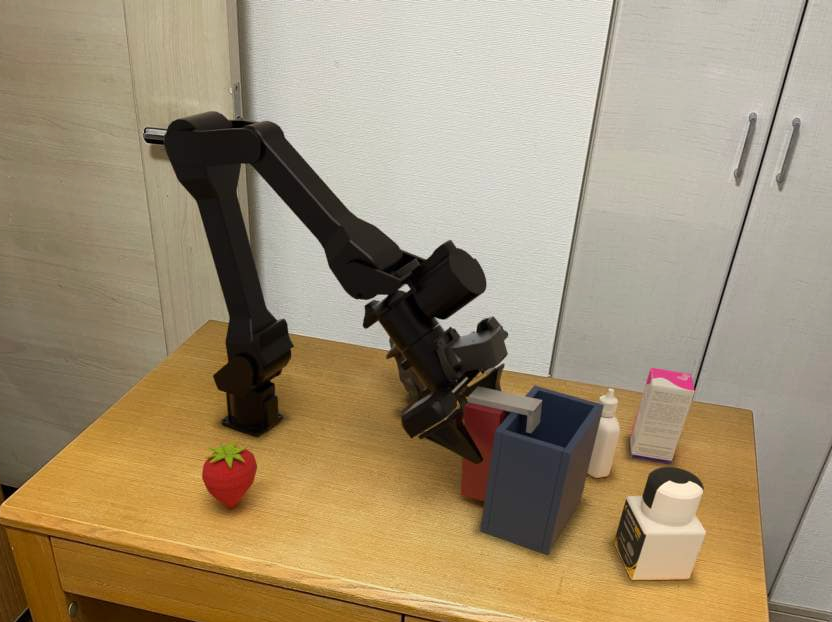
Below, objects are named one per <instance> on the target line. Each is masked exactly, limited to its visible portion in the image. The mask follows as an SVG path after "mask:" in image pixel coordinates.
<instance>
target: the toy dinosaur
mask: <svg viewBox="0 0 832 622" xmlns="http://www.w3.org/2000/svg"><path fill="white" fill-rule="evenodd" d="M388 343H389V347H390V350H389V351H387V354H386V355H385V358H384V359H385V360H390V359H393V358H394V360H395V361H396V365H397V371H398V378H399V381H400V382H401V383H402V385H403V387H404V389H405V391H406V392H407V393H408V400H407V405H406V406H405V407H404V408H400V409H399V412H400V415H401V416H402V415H403V414H404V413H405V412H406V411H407V410H408V409H410V408H411V407H412V406H413V405H414V404H415V403H417V402H418V401H420V400H421V399H423V398H424V397H423V396H422V395H421V392H422V391H423V390H424V389H425V386H424V385H423V383H422V382H421V381H420V379H419V378H418V376H417V375H416V374H415V372H414V371H413V369H412V368H409V369H408V370H406V371H404V369H403V368H402V366H401V365H400V364H401V363H402V362H404V361H405V360H406V359H405V358H404V357H403V355H402V354H401V352H400V351H399V349H398V348H397V347H396V345H395V344H394V342H393V341H392V340H391V338H390V337H389V339H388ZM403 351H404V350H403ZM467 387H468V386H466V387H465V388H464V389H462V390H461V391H460V392H459V393H458V394H457V395H456V398H457V403H458V404H459V408H460V407H461V406H463V418H464V412H465V405H466V404H467V403H468V398H467V397H466V396H465V395H464V394H463V393H462V392H463V391H464V390H465V389H466V388H467Z"/></svg>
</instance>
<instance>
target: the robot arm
mask: <svg viewBox="0 0 832 622" xmlns="http://www.w3.org/2000/svg"><path fill="white" fill-rule="evenodd" d="M163 145H164V149H165V153H166V155H167V158H168V160H169V163H170V165H171V167H172V170H173V172H174V174H175V177H176V179H177V181H178V182H179V183H180V185H181V186H182V187H184V189H185V190H186V191H187V193H188V194H189V195H190V196H191V197H192V199H194V200H195V202H196V205H197V208H198V211H199V214H200V218H201V221H202V225H203V229H204V232H205V236H206V240H207V243H208V246H209V249H210V254H211V257H212V260H213V264H214V268H215V271H216V275H217V278H218V281H219V285H220V289H221V292H222V296H223V300H224V302H225V307H226V309H227V314H228V325H227V330H226V336H225V341H224V343H225V351H226V356H227V363H225V364H224V365H223V366H222V367H221V368H220V369H219V370H217V371H216V372H215V373H213V375H212V378H213V381H214V383H215V386H216V389H217V390H218V391H220V392H223V393H225V397H226V398H225V399H226V409H227V416H224V418H221V420H220V421H221V422H220V424H221V425H222V426H225V427H228V428H231V429H234V430H237V431H240V432H243V433H245V434H249V435H251V436H254V437H259V436H261V435H263V434H264V433H265V432H267V430H269V429H271V428H272V427H273V426H274V425H276V424H277V423H279V422H280V421H281V420H283V418H284V414H283V413H282V412H281V413H280V412H279V398H278V397H279V396H278V394H276V383H275V382H272V380H274V379H276V378H277V377H279V376H280V375H282V371H283V369H284V368H286V367H287V366H288V365H289V363H290V361H291V359H292V349H293V348H294V347H295V344H294V343H293V341H292V339H291V336H290V334H289V333H290V332H289V324H288V322H287V320H286V319H285V318H280V319H279V318H278V319H277V318H276V317H275V315H274V314H272V312H270V310H269V309H268V308H267V305H266V300H265V297H264V293H263V289H262V286H261V282H260V277H259V274H258V271H257V267H256V263H255V259H254V255H253V251H252V246H251V243H250V239H249V236H248V232H247V228H246V224H245V220H244V216H243V212H242V209H241V204H240V201H239V197H238V186H239V181H240V174H241V168H242V165H243V164H245V165H250V166H252V168H253V169H254V170H255V171H256V172H257V173H258V175H259V176H260V177H261V178H262V179H263V180H264V181H265V182H266V183H267V185H268V186H269V187H270V188H271V189H272V191H274V192H275V193H276V195H277V196H278V197H279V198H280V199H281V201H282V202H284V204H285V205H286V206H287V207H288V208H289V209H290V211H291V212H292V213H293V214H294V215H295V216H296V217H297V218H298V220H300V222H301V223H302V224H303V225H304V226H305V228H307V230H308V231H309V232H310V233H311V234H312V235H313V236H314V238H315V239H316V240H317V241H318V242H319V244H320V246H321V247H322V249H323V251H324V254H325V258H326V262H327V265H328V268H329V269H330V271H331V273H332V274H333V276H334V277H335V279H336V280H337V281H338V283H339V285H340V286H341V288H342V289H343V290H344V291H345V293H346V294H347V295H348V296H350V297H351V298H353V299H354V300H357V301H358V300H361V301H368V300H370V301H369V302H367V303H366V304H365V305H364V316H363V321H362V328H363V329H365V330H367V329H369V328H370V327H372V326H373V325H375V324H376V323H377V322H378V323H379V324H380V325H381V327H382V328H383V330H384V332H385V333H386V334H387V335H388V337H389V338H391V340H392V341H393V342H394V344H395V345H396V347H397V348H398V349H399V351H400V352H401V354H402V355H403V357H404V358H405V359H406V360H405V361H404V362H402V363H401V364H400V365H401V366H402V368H403V369H404V371H406V370H408V369H409V368H412V369H413V371H414V372H415V374H416V375H417V376H418V378H419V379H420V381H421V382H422V383H423V385H424V386H425V389H424V390H423V391H422V392H421V395H422V396H423V399H421V400H420V401H418V402H417V403H415V404H414V405H413V406H412V407H411V408H410V409H408V410H407V411H406V412H405V413H404V414H403V415H401V419H400V427H401V428H402V429H403V431H404V432H405V433H406V435H407V436H408V437H409V439H413V438H415V437H417V438H418V439H419V440H421V441H422V440H423V439H425V440H428V441H430V442H432V443H434V444H436V445H439V446H441V447H442V448H445V449H446V450H449V451H451V452H452V453H454V454H456V455H458V456H459V457H461V458H462V459H463V458H465V459H467V460H469V461H470V462H472V463H474V464H479V463H481V462H482V461H483V457H482V455H481V453H480V451H479V449H478V447H477V446H476V444H475V442H474V441H473V439H472V437H471V436H470V434H469V432H468V431H467V429H466V427H465V426H464V417H463V406H461V407H460V406H459V407H458V401H457V398H456V395H457V394H458V393H459V392H460V391H461V390H462V389H464V388H465V387H466V386H468V387H467V388H466V389H465V390H464V391H463V392H462V393H463V394H464V395H465V396H466V398H467V399H468V396H469V395H470V394H471V393H472V392H473V391H474V390H475V389H476V388H477V387H483V388H488V389H493V390H497V391H502V387H501V378H502V373H503V370H504V369H505V366H506V365H505V363H504V362H503V361H504V360H505V359H506V358H507V356H508V355H509V352H508V350H507V346H506V343H505V342H506V341H505V340H507V339H508V338H509V332H508V331H506V330H505V329H504V326H503V325H502V324H501V323H500V322H499V321H498V320H497V319H496V317H495V316H488V317H483V318H482V319H481V320H480V321H478V322H477V324H476V330H475V331H474V330H473V331H471V332H469V334H465V335H460V334H459V332H458V331H457V330H456V328H453V327H452V326H449V327H448V328H447V329H446V330H445V328H444V327H443V325H442V324H441V323H440V321H439V320H444V321H445V320H448V319H449V318H450V317H452V316H453V315H455V314H456V313H458V312H459V311H460V310H461V309H463V308H465V306H468V305H469V304H470V303H472V302H473V301H475V300H476V299H477V298H478V297H480V296H481V295H483V294H484V293H485V291H486V290H487V278H486V274H485V271H484V269H483V267H482V265H481V263H480V262H479V260H478V259H477V258H474V257H473V256H472V255H471V254H470V253H468V252H467V251H466V250H464V249H463V248H460V247H457V246H456V245H455V243H454V242H453V240H452V239H448V240H446V241H444V242H443V243H441V244H440V245H439V246H438V247H436V248H435V249H434V250H433V252H432V253H431V254H430V256H429V257H427V258H423V257H422V256H419V255H416V254H414V253H411V252H409V251H407V250H404V249H402V248H400V246H399V245H398V244H397V243H396V241H394V240H393V239H392V238H390V236H388V235H387V234H386V233H384V232H383V231H382V230H381V229H380V228H378V227H377V225H375V224H372V223H370V222H369V221H366V220H365V219H362V218H360V217H358V216H357V215H355V214H354V213H353V212H352V211H350V210H349V208H348V207H347V206H346V205H345V204H344V203H343V202H342V201H341V199H340V198H339V197H338V196H337V195H336V194H335V192H333V190H332V189H331V188H330V187H329V185H327V183H326V182H325V181H324V180H323V179H322V178H321V177H320V176H319V174H318V173H317V172H316V171H315V170H314V169H313V168H312V166H311V165H310V164H309V163H308V162H307V161H306V159H304V157H303V156H302V155H301V154H300V153H299V152H298V150H297V149H296V148H295V147H294V146H293V145H292V143H291V142H290V141H289V140H288V139H287V138H286V135H285V133H284V131H283V129H282V127H281V126H280V125H278V123H276V122H273V121H271V120H262V121H255V120H250V119H228V118H227V117H226V116H225V115H224V114H222V113H221V112H218V111H217V110H208V111H204V112H200V113H197V114H193V115H189V116H188V115H187V116H185V117H180V118H177V119H175V120H171V122H170V123H169V124H168V126H167V129H166V131H165V134H164V135H163ZM406 285H407V287H408V288H409V290H407V291H405V290H401V288H403V287H404V286H406ZM377 296H385V297H383V298H382V299H381V300H378V299H374V298H376V297H377ZM371 299H372V300H371ZM403 350H404V351H403ZM502 362H503V363H502ZM457 407H458V408H457Z"/></svg>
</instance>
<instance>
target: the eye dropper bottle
mask: <svg viewBox="0 0 832 622" xmlns="http://www.w3.org/2000/svg"><path fill="white" fill-rule="evenodd" d="M597 403H599V404H603V405H604V407H603V411H602V415H601V419H600V423H599V427H598V431H597V436H596V440H595V444H594V448H593V452H592V456H591V460H590V464H589V469H588V473H587V475H589V476H590V477H592V478H595V479H600V478H605V477H609V476H610V473H611V469H612V465H613V461H614V457H615V453H616V450H617V447H618V443H619V438H620V434H621V426H620V423H619V420H618V418H617V417H616V412H617V408H618V404H619V399H618V398H617V397H615V389H614V388H608V390H607V392H606V394H603V395H601V396H599V398H598V402H597Z"/></svg>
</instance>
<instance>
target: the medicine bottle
mask: <svg viewBox="0 0 832 622" xmlns="http://www.w3.org/2000/svg"><path fill="white" fill-rule="evenodd" d="M644 485H645V486H644V489H643V492H642V495H628V496H626V498H625V502H624V505H623V508H622V512H621V516H620V519H619V522H618V525H617V530H616V533H615V535H614V536H615V537H614V539H613V544H614V546H615V549H616V550H617V552H618V553H617V554H618V555H619V557H620V559H621V562H622V564H623V566H624V568H625V570H626V571H627V572H626V573H627V575H628V576H629V578H630V580H632V581H660V580H661V581H664V580H665V581H667V580H669V581H671V580H672V581H673V580H675V581H676V580H689V579H690V577H691V575H692V573H693V570H694V567H695V565H696V562H697V559H698V557H699V554H700V551H701V549H702V546H703V543H704V540H705V538H706V535H707V531H706V529H705V528H704V526H703V524H702V523H701V521H700V520H699V517H698V516H697V515H696V513H697V511H698V508H699V504H700V502H701V500H702V497H703V493H704V490H705V487H704V484H703V482H702V480H701V479H700V477H698V476H697V475H695V474H694V473H693V472H691V471H688V470H686V469H684V468H680V467H676V466H662V467H657V468H655V469H654V470H652V471H650V473H649V474H648V476H647V480H646V482H645V484H644Z"/></svg>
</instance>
